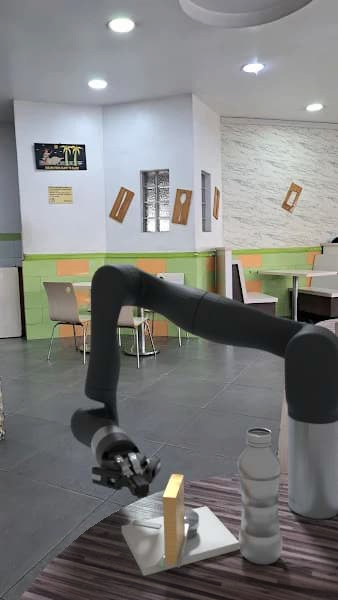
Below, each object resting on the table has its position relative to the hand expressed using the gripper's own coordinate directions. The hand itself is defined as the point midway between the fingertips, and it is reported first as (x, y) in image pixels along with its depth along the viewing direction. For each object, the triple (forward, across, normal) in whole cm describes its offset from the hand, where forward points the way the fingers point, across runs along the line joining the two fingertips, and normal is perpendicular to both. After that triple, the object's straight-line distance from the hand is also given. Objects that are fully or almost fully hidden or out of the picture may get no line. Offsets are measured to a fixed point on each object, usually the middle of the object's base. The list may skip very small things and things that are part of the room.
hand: (143, 491), depth 75 cm
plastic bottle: (+8, +16, +10) cm, 21 cm away
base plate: (-1, +6, +10) cm, 12 cm away
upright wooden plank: (+3, +5, +7) cm, 9 cm away
